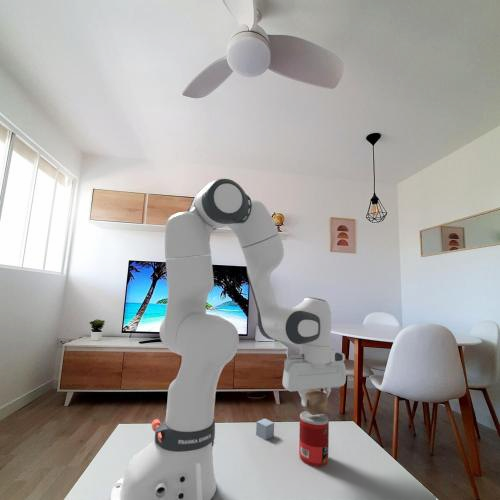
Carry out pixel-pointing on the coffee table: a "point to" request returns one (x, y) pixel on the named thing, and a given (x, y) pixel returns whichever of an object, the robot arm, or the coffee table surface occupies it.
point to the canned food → (314, 438)
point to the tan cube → (316, 402)
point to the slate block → (265, 429)
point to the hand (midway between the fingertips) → (314, 404)
